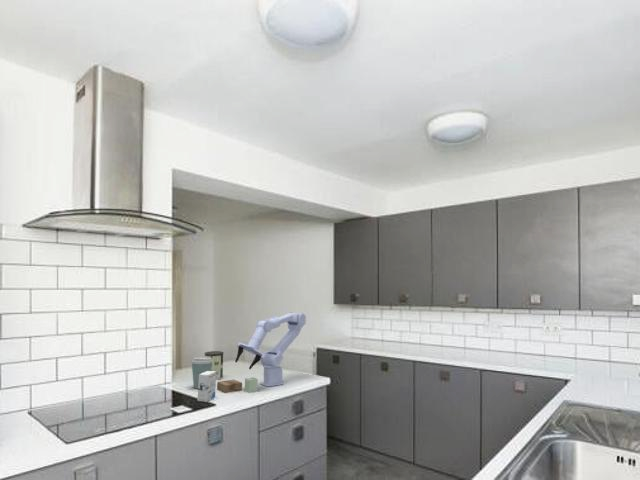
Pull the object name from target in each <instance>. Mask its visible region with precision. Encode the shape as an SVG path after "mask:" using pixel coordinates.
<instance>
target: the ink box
mask: <svg viewBox="0 0 640 480" xmlns="http://www.w3.org/2000/svg"><path fill="white" fill-rule="evenodd" d="M216 381H217V380H216V371H206V372H204V373H201V374H199V383H198V389H197V402H204V403H207V402H209V401H210V400H212V399H214V398H215V397H216V387H217V384H216V383H217V382H216Z"/></svg>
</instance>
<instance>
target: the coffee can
mask: <svg viewBox="0 0 640 480" xmlns="http://www.w3.org/2000/svg"><path fill="white" fill-rule="evenodd" d="M204 357H208V358H212V360H213V362H212V366H211V371H216V381H219V380H223V379H224V374H223V373H224V372H223V371H224V351H220V350H218V351H217V350H214V351H213V350H212V351H206V352H204Z"/></svg>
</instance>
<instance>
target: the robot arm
mask: <svg viewBox="0 0 640 480" xmlns="http://www.w3.org/2000/svg"><path fill="white" fill-rule="evenodd" d="M306 318H307V317H306V314H305V313H304V312H303V313H301V312H287V313H286V314H283V315H282V316H279V317H278V316H275V315H272V316H271V317H270V318H266V319H265V320H260V321H259V322H256V326H255V327H256V328H255V331H254V332H253V335H252V337H251V338H250V340H249V342H248V344H246V343H242V342H240V341H239V342H238V343H237V345H236V346H237V348H238V349H237V353H236V354H237V355H236V358H235V363H238V361H239V359H240V357H241V356H242V354H243V352H244V351H246V352H248V353H251V354H253V355H255V356H254V358H253V360H252V362H251V364H250V365H249V367H248V369H249V370H251V369H252V368H253V366H255V365H256V364H257V363H258V362H260V363H261V365H262V367H263V382H260V383H259V384H260V385H263V386H265V387H274V386H280V385H284V383H283V368H282V367H281V366H280V365H281V363H282V360H283V359H284V356H283V354H284V353H285V351H286V350H287V349H288V348H289V347H290V345H292V343H293V342H294V340H295V339H296V338H297V337H299V334H300V333H301V330H302V328H303V327H304V325H306V321H307V319H306ZM284 323H287V327H288V331H287V333H285V334H284V336H283V337H282V338H281V339H280V341H279V342H278V343H277V344H276V345H275V346H274V347H273V348H272V349H269V350H267V351H266V352H264V353H263V352H262V351H260V350H259V348H260V347H261V345H262V343H263V341H264V340H265V338H266V336H267V334H268V333H271V332H272V330H274V329H277V328H280V326H281V324H284Z"/></svg>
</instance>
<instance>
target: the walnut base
mask: <svg viewBox="0 0 640 480" xmlns="http://www.w3.org/2000/svg"><path fill="white" fill-rule="evenodd" d="M216 383H217V384H216V387H217V388H216V390H217V391H219V392H222V393H224V394H227V393H228V394H229V393H235V392H241V391H243V382H241V381H239V380H236V379H228V380H221V381H217V382H216Z"/></svg>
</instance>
